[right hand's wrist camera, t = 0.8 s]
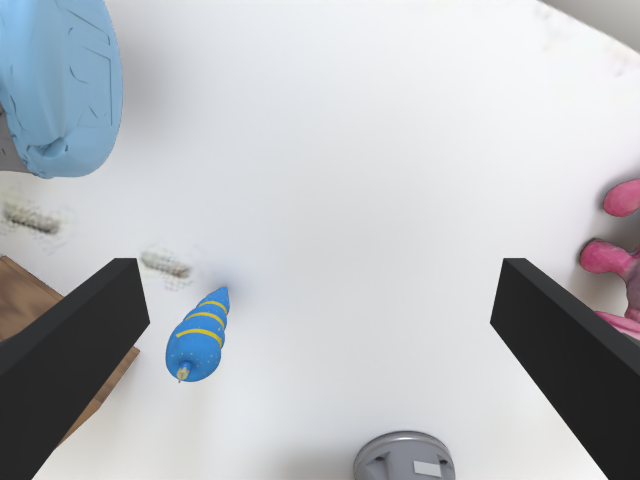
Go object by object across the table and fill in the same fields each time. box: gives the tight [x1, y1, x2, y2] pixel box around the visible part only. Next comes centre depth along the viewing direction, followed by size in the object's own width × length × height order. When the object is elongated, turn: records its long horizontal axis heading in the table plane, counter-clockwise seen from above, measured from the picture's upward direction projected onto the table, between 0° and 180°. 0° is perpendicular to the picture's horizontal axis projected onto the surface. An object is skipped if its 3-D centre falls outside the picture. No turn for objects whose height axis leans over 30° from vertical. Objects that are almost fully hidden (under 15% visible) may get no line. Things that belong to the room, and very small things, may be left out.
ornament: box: [166, 287, 229, 383], centre depth 37 cm, size 5×5×15 cm
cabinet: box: [0, 256, 140, 450], centre depth 42 cm, size 20×11×10 cm, turn 44°
